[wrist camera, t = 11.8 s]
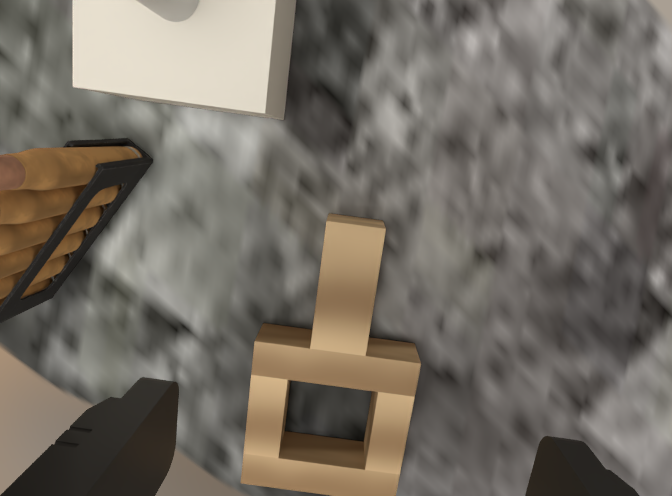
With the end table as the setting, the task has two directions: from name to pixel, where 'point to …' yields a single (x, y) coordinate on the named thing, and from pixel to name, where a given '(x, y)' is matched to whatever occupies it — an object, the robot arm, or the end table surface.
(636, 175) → the end table surface
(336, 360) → the oak link
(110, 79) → the ring stand
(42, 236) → the ammunition clip
